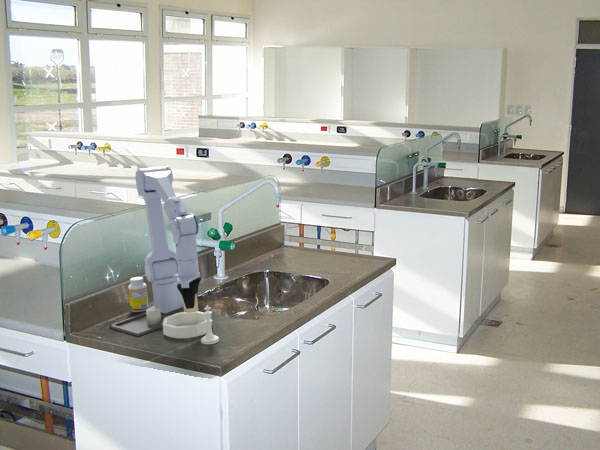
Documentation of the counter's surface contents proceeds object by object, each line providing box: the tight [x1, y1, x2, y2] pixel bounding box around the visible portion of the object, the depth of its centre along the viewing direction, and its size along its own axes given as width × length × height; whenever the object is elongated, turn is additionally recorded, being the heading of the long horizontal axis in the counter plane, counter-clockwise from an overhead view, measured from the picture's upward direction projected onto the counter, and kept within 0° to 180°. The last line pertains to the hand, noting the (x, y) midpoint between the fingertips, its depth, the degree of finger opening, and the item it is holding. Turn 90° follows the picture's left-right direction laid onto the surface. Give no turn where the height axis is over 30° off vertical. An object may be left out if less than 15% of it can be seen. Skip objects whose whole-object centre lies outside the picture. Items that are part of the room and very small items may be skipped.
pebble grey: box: [145, 306, 162, 327], centre depth 205 cm, size 4×4×4 cm
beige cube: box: [182, 293, 199, 313], centre depth 200 cm, size 4×4×4 cm
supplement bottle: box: [127, 276, 150, 313], centre depth 219 cm, size 6×6×10 cm
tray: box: [109, 311, 168, 337], centre depth 206 cm, size 14×13×1 cm
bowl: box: [162, 310, 212, 339], centre depth 199 cm, size 13×13×4 cm
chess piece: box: [200, 304, 220, 345], centre depth 190 cm, size 5×5×10 cm
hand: (191, 305), depth 200 cm, fingers closed on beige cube, 4 cm apart
